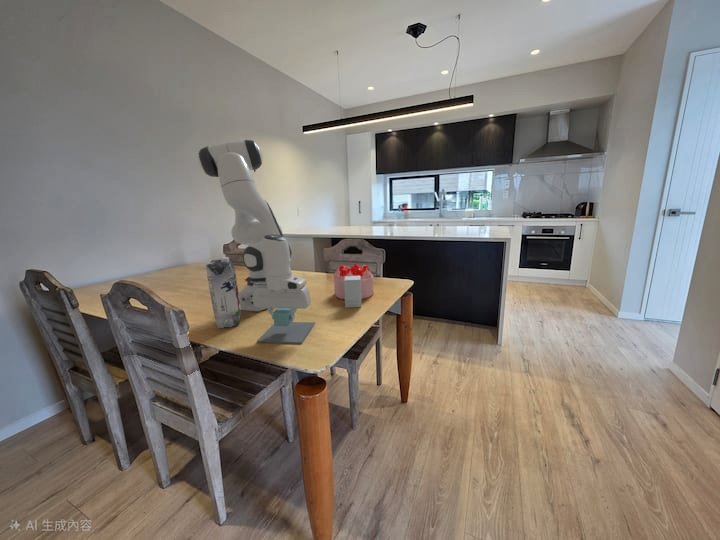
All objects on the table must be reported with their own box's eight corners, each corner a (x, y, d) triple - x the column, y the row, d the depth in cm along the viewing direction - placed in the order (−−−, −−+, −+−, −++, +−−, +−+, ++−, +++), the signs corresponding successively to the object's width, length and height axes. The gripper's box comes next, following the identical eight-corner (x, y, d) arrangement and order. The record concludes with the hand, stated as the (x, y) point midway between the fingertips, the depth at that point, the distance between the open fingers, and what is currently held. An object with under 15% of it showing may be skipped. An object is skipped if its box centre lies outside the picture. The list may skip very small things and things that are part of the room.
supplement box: (361, 307, 126) (360, 279, 123) (345, 307, 126) (343, 280, 123) (362, 301, 133) (360, 275, 130) (346, 302, 133) (344, 275, 130)
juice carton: (215, 330, 109) (202, 261, 102) (220, 320, 119) (209, 256, 112) (240, 327, 111) (229, 259, 104) (243, 317, 121) (233, 254, 114)
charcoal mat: (256, 342, 98) (256, 341, 98) (276, 323, 113) (275, 321, 113) (301, 343, 96) (301, 342, 95) (315, 323, 111) (315, 322, 111)
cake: (376, 288, 152) (375, 262, 149) (370, 301, 133) (369, 271, 129) (340, 287, 156) (338, 262, 152) (330, 300, 136) (327, 271, 133)
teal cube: (274, 326, 101) (272, 312, 100) (280, 320, 106) (279, 307, 104) (287, 326, 100) (286, 313, 99) (293, 320, 105) (292, 307, 104)
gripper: (247, 284, 98) (252, 321, 101) (304, 284, 95) (307, 323, 98) (256, 279, 104) (260, 315, 107) (310, 279, 101) (313, 316, 104)
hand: (283, 319), depth 102 cm, fingers closed on teal cube, 5 cm apart
